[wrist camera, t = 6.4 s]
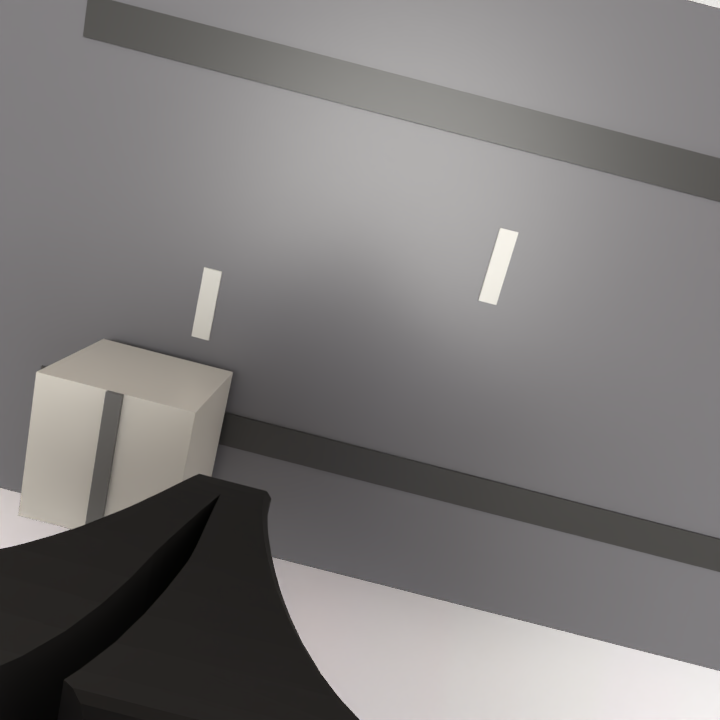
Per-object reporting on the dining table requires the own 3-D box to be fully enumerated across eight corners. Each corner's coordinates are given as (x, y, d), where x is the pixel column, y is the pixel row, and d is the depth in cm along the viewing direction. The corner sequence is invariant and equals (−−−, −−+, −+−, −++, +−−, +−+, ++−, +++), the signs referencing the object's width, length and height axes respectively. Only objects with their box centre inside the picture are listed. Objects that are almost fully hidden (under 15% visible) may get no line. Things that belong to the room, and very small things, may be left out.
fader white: (208, 490, 15) (165, 556, 13) (85, 458, 15) (15, 518, 13) (233, 372, 15) (193, 413, 12) (103, 339, 15) (33, 373, 12)
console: (846, 670, 18) (887, 715, 16) (-88, 432, 17) (-135, 454, 16) (1126, 142, 14) (1213, 136, 13) (-44, -163, 14) (-98, -207, 12)
